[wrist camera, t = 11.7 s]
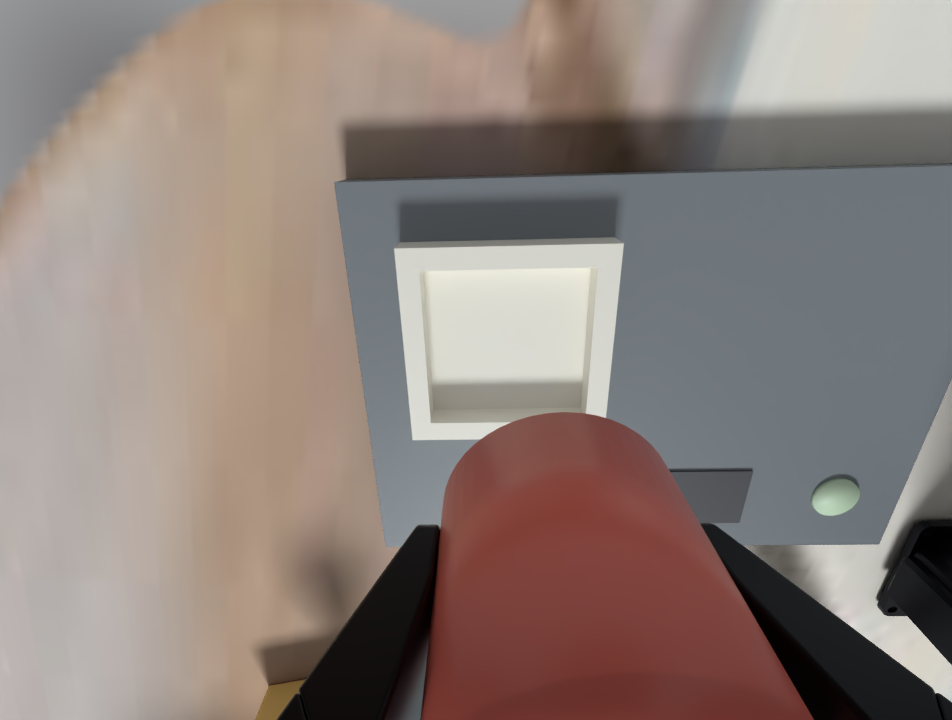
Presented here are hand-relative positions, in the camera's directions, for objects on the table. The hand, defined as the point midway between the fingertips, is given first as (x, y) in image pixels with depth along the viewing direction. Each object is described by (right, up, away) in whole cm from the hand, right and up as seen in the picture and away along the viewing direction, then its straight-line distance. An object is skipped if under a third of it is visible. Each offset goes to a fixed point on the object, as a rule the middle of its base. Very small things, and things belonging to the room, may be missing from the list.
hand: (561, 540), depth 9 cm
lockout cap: (0, 0, +1) cm, 1 cm away
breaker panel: (+6, +3, +12) cm, 14 cm away
